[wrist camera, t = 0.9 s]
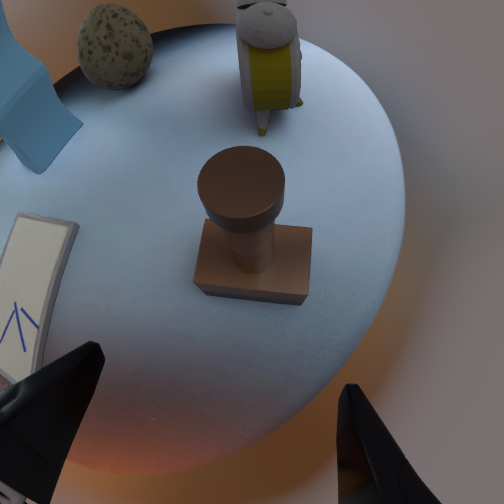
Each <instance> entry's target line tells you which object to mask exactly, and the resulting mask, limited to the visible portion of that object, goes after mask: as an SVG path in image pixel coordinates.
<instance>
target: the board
mask: <svg viewBox="0 0 504 504" xmlns="http://www.w3.org/2000/svg"><path fill="white" fill-rule="evenodd" d="M78 229H79V225H77V224H76V223H75V222H71V221H65V220H60V219H55V218H50V217H44V216H39V215H34V214H29V213H24V212H18V213H17V216H16V218H15V220H14V223H13V225H12V228H11V231H10V233H9V236H8V239H7V242H6V244H5V247H4V250H3V253H2V256H1V260H0V374H1V375H2V376H4V377H5V378H6V379H7V380H8V381H10V382H11V383H12V384H13V385H14V384H15V383H17V382H19V381H21V380H23V379H24V378H26V377H28V376H29V375H31V374H33V373H34V372H36V371H38V370H40V369H41V366H42V360H43V354H44V348H45V343H46V338H47V333H48V328H49V324H50V319H51V315H52V311H53V307H54V303H55V299H56V296H57V292H58V288H59V285H60V282H61V278H62V275H63V272H64V268H65V265H66V262H67V259H68V256H69V253H70V250H71V248H72V245H73V242H74V239H75V237H76V234H77V231H78Z"/></svg>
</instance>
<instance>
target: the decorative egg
mask: <svg viewBox="0 0 504 504" xmlns="http://www.w3.org/2000/svg"><path fill="white" fill-rule="evenodd" d="M77 51H78V59H79V63H80V66H81V69H82V71H83V73H84V74H85V76H86V77H87V78H88V80H89V81H91V82H92V83H93V84H94V85H96V86H98V87H100V88H103V89H107V90H121V89H124V88H127V87H129V86H131V85H133V84H135V83H136V82H138V81H139V80H140V79H141V78H142V77H143V76H144V74H145V73H146V71H147V70H148V68H149V66H150V63H151V60H152V55H153V43H152V39H151V35H150V33H149V31H148V29H147V27H146V26H145V24H144V23H143V22H142V20H141V19H140V18H139V17H138V16H137V15H135V14H134V13H133V12H131V11H130V10H129V9H127V8H125V7H123V6H120V5H116V4H110V3H108V4H101V5H98V6H96V7H95V8H93V9H92V10H91V11H90V12H89V13H88V14H87V16H86V17H85V19H84V21H83V23H82V25H81V28H80V31H79V35H78V43H77Z"/></svg>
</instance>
